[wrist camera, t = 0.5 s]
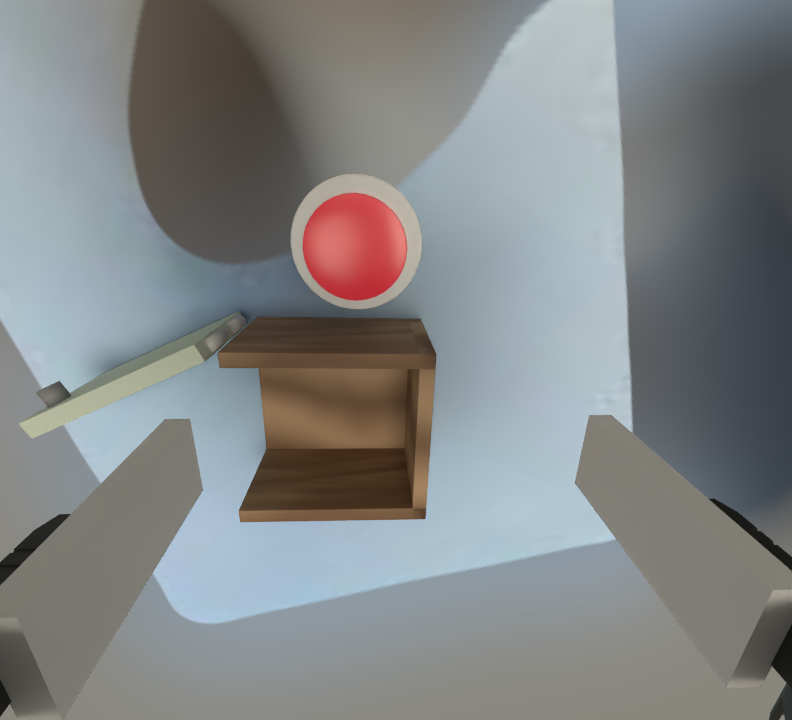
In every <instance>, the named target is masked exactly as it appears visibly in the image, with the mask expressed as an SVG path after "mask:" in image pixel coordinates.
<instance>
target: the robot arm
mask: <svg viewBox="0 0 792 720" xmlns="http://www.w3.org/2000/svg"><path fill="white" fill-rule="evenodd" d="M575 484H576V485H577V486H578V488H579V489H580V490H581V492H582V493H583V495H584V496H585V497H586V499H587V500H588V501H589V503H590V504H591V505H592V507H593V508H594V509H595V511H596V512H597V514H598V515H599V516H600V518H601V519H602V520H603V522H604V523H605V524H606V526H607V527H608V528H609V530H610V531H611V532H612V534H613V535H614V537H615V538H616V539H617V541H618V542H619V543H620V544H621V546H622V547H623V549H624V550H625V551H626V553H627V554H628V555H629V557H630V558H631V560H632V561H633V562H634V564H635V565H636V566H637V568H638V569H639V570H640V572H641V573H642V575H643V576H644V577H645V579H646V580H647V581H648V583H649V584H650V585H651V587H652V588H653V589H654V591H655V592H656V593H657V595H658V596H659V598H660V599H661V600H662V601H663V603H664V604H665V606H666V607H667V608H668V610H669V611H670V612H671V614H672V615H673V616H674V618H675V619H676V621H677V622H678V623H679V625H680V626H681V627H682V629H683V630H684V631H685V633H686V634H687V636H688V637H689V638H690V640H691V641H692V642H693V644H694V645H695V646H696V648H697V649H698V650H699V652H700V653H701V655H702V656H703V657H704V659H705V660H706V661H707V663H708V664H709V665H710V667H711V668H712V669H713V671H714V672H715V674H717V676H718V678H719V679H720V680H721V682H722V683H723V684H724V686H725V687H726V688H737V687H757V686H762V684H763V682H764V680H765V678H766V676H767V674H768V672H769V671H770V669H771V667H772V666H773V668H774V669H775V670H776V671H777V672H778V673H779V674H780V676H781V677H782V678H783V679H784V680H785V681H786V682H787V683H786V685H785V687H784V689H783V691H782V692H781V694H780V696H779V698H778V700H777V702H776V703H775V705H774V707H773V709H772V710H771V712H770V717H769V720H779V719H780V717H781V715H784V716H785V720H792V557H791V556H790V555H789V554H788V553H786V552H785V551H784V550H783V549H782V548H780V547H779V546H778V545H774V544H773V541H772V540H771V539H770V538H768V537H767V536H766V535H765V534H764V533H762V532H760V531H757V528H756V527H755V526H754V525H753V524H751V523H750V522H749V521H748V520H747V519H745V518H744V517H743V516H742V515H741V514H739V513H738V512H737V511H735V510H733V509H731V508H730V507H728V506H726V505H724V504H723V503H721V502H719V501H717V500H715V499H708V498H707V497H705V496H704V495H703V494H702V493H701V492H700V491H699V490H697V489H696V488H695V487H694V486H693V485H691V484H690V483H689V482H688V481H687V480H686V479H685V478H683V477H682V476H681V475H680V474H679V473H678V472H677V471H675V470H674V469H673V468H672V467H671V466H670V465H668V464H667V463H666V462H665V461H664V460H663V459H661V458H660V457H659V456H658V455H657V454H656V453H654V452H653V451H652V450H651V449H650V448H649V447H648V446H646V445H645V444H644V443H643V442H642V441H641V440H639V439H638V438H637V437H636V436H635V435H634V434H633V433H631V432H630V431H629V430H628V429H627V428H626V427H624V426H623V425H622V424H621V423H620V422H619V421H618V420H616V419H615V418H614V417H613V416H612V415H589V419H588V424H587V428H586V433H585V438H584V442H583V447H582V452H581V456H580V461H579V466H578V470H577V475H576V480H575ZM202 491H203V487H202V482H201V477H200V471H199V466H198V460H197V455H196V449H195V444H194V438H193V433H192V428H191V422H190V419H165V420H164V421H163V422H162V423H161V424H160V425H159V426H158V427H157V428H156V429H155V430H154V431H153V432H152V433H151V434H150V435H149V436H148V437H147V438H146V439H145V440H144V441H143V442H142V443H141V444H140V445H139V446H138V447H137V448H136V449H135V450H134V451H133V452H132V453H131V454H130V455H129V456H128V457H127V458H126V459H125V460H124V461H123V462H122V463H121V464H120V465H119V466H118V467H117V468H116V469H115V470H114V471H113V472H112V473H111V474H110V475H109V476H108V477H107V478H106V479H105V480H104V481H103V482H102V483H101V484H100V485H99V486H98V487H97V489H96V490H95V491H94V492H93V493H92V494H91V495H90V496H89V497H88V498H87V499H86V500H85V501H84V502H83V503H82V504H81V505H80V506H79V507H78V508H77V509H76V510H75V511H74V512H73V513H72V514H60V515H58V516H56V517H55V518H53V519H51V520H50V521H48V522H47V523H46V524H43V525H42V526H40V527H39V528H37V529H36V530H34V531H33V532H32V533H31V534H30V535H29V536H28V537H27V538H25V539H24V540H23V541H22V542H21V543H20V544H19V545H18V546H17V547H16V548H15V549H14V552H13V553H10V554H9V555H8V556H6V557H5V558H4V559H3V560H2V561H1V562H0V716H1V715H2V713H3V712H4V711H5V709H6V708H7V707H8V705H9V704H10V705H11V707H12V709H13V710H14V713H15V715H16V717H17V719H18V720H64V718H65V717H66V715H67V713H68V711H69V710H70V708H71V707H72V705H73V703H74V702H75V700H76V698H77V697H78V695H79V693H80V692H81V690H82V688H83V687H84V685H85V683H86V682H87V680H88V679H89V677H90V675H91V674H92V672H93V670H94V669H95V667H96V665H97V664H98V662H99V661H100V659H101V657H102V655H103V654H104V652H105V651H106V649H107V647H108V646H109V644H110V642H111V641H112V639H113V637H114V636H115V634H116V632H117V631H118V629H119V628H120V626H121V624H122V623H123V621H124V619H125V618H126V616H127V614H128V613H129V611H130V609H131V608H132V606H133V604H134V602H135V601H136V599H137V598H138V596H139V595H140V593H141V591H142V589H143V588H144V586H145V585H146V583H147V581H148V580H149V578H150V576H151V575H152V573H153V571H154V570H155V568H156V567H157V565H158V563H159V562H160V560H161V558H162V557H163V555H164V553H165V552H166V550H167V548H168V547H169V545H170V543H171V542H172V540H173V539H174V537H175V535H176V534H177V532H178V530H179V529H180V527H181V525H182V524H183V522H184V520H185V519H186V517H187V515H188V514H189V512H190V510H191V509H192V507H193V506H194V504H195V502H196V501H197V499H198V497H199V496H200V494H201V492H202Z"/></svg>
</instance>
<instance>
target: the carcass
mask: <svg viewBox="0 0 792 720" xmlns="http://www.w3.org/2000/svg"><path fill="white" fill-rule="evenodd" d="M218 359H219V366H220V368H259V376H260V386H261V396H262V407H263V417H264V427H265V437H266V448H267V449H266V451H265V454H264V456H263V458H262V460H261V463H260V465H259V467H258V469H257V471H256V474H255V476H254V478H253V480H252V483H251V485H250V487H249V489H248V491H247V494H246V496H245V498H244V500H243V503H242V505H241V507H240V509H239V517H240V522H275V521H337V520H399V519H425V517H426V502H427V487H428V472H429V457H430V442H431V427H432V412H433V397H434V382H435V367H436V353H435V350H434V348H433V346H432V344H431V341H430V339H429V337H428V335H427V332H426V330H425V328H424V326H423V323H422V321H421V319H385V318H314V317H257V318H255V319H254V320H253V321H252V322H251V323H250V324H249V325H248V326H247V327H246V328H244V329H243V330H242V331H241V332H240V333H239V334H238V335H237V336H236V337H234V338H233V339H232V340H231V341H230V342H229V343H228V344H227V345H226V346H224V347H223V348H222V349H221V350H220V351H219V352H218Z"/></svg>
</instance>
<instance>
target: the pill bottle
mask: <svg viewBox="0 0 792 720" xmlns="http://www.w3.org/2000/svg"><path fill="white" fill-rule="evenodd" d="M291 250H292V256H293V260H294V262H295V265H296V268H297V270H298V272H299V274H300V275H301V277H302V279H303V280H304V282H305V283H306V284H307V285H308V286H309V288H310V289H311V290H312V291H313V292H314V293H316V294H317V295H318V296H319V297H321V298H322V299H324V300H325V301H327V302H329V303H331V304H333V305H336V306H339V307H343V308H346V309H356V310H360V309H370V308H374V307H377V306H381V305H383V304H385V303H387V302H389V301H391V300H393V299H394V298H395V297H396V296H398V295H399V294H400V293H401V292H403V290H404V289H405V288H406V287H407V286H408V285H409V283H410V282H411V280H412V279H413V277H414V275H415V273H416V271H417V269H418V266H419V262H420V259H421V253H422V232H421V228H420V224H419V220H418V218H417V216H416V214H415V211H414V209H413V207H412V206H411V204H410V203H409V202H408V200H407V199H406V197H405V196H404V195H403V194H402V193H401V192H400V191H399V190H397V189H396V188H395V187H394V186H393V185H391V184H389V183H388V182H386V181H384V180H383V179H380V178H377V177H374V176H371V175H367V174H360V173H350V174H341V175H338V176H335V177H332V178H329V179H327V180H325V181H323V182H322V183H320V184H319V185H317V186H316V187H315V188H314V189H313V190H311V191H310V192H309V193H308V194H307V195H306V197H305V198H304V200H303V201H302V202H301V204H300V205H299V207H298V209H297V212H296V214H295V216H294V219H293V223H292V228H291Z"/></svg>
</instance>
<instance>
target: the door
mask: <svg viewBox="0 0 792 720" xmlns="http://www.w3.org/2000/svg"><path fill="white" fill-rule="evenodd" d="M246 325H247V323H246V319H245V317H244V316H242V315H241V313H240V311H238V312H236V313H234V314H232V315H230V316H227V317H225V318H223V319H221V320H219V321H216V322H214V323H212V324H210V325H208V326H205V327H203V328H201V329H199V330H197V331H194V332H192V333H190V334H188V335H186V336H183V337H181V338H179V339H177V340H175V341H172V342H170V343H168V344H166V345H164V346H161V347H159V348H157V349H155V350H153V351H150V352H148V353H146V354H144V355H142V356H139V357H137V358H135V359H133V360H131V361H128V362H126V363H124V364H122V365H120V366H117V367H115V368H113V369H111V370H109V371H106V372H105V373H103V374H101V375H99V376H98V377H96V378H94V379H93V380H91V381H89V382H88V383H86V384H84V385H83V386H81V387H79V388H78V389H76V390H74V391H73V392H71V393H69V392H68V391H67V389H66V388H65V387H64V386H63V385H62V383H61V382H60V381H58V382H56V383H54V384H52V385H50V386H48V387H46V388H44V389H42V390H40V391H38V392H36V393H37V394H38V396H39V397H40V398H41V399H42V400H43V401H44V403H45V404H46V405H47V406H48V407H46V408H44V409H42V410H41V411H39V412H37V413H36V414H34V415H33V416H31V417H29V418H28V419H26V420H24V421H22V422H21V423H19V425H20V426H21V427H22V428H23V429H24V430H25V431H26V433H27V434H28V435H29V436H30V437H31V438H34V437H37V436H39V435H41V434H43V433H46V432H48V431H50V430H52V429H55V428H57V427H59V426H61V425H64V424H66V423H68V422H70V421H73V420H75V419H77V418H79V417H82V416H84V415H86V414H88V413H91V412H93V411H95V410H97V409H99V408H102V407H104V406H106V405H108V404H111V403H113V402H115V401H117V400H120V399H122V398H124V397H126V396H129V395H131V394H133V393H135V392H138V391H140V390H142V389H144V388H147V387H149V386H151V385H153V384H156V383H158V382H160V381H162V380H165V379H167V378H169V377H171V376H174V375H176V374H178V373H180V372H183V371H185V370H187V369H189V368H191V367H194V366H196V365H198V364H200V363H203V362H205V361H206V360H207V359H208V358H209V357H211V356H212V355H213V354H214V353H215V352H216V351H217V350H218V349H220V348H221V347H222V346H223V345H224V344H225V343H226V342H227V341H229V340H230V339H231V338H232V337H233V336H234V335H235V334H237V333H238V332H239V331H240V330H241V329H242V328H243V327H244V326H246Z"/></svg>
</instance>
